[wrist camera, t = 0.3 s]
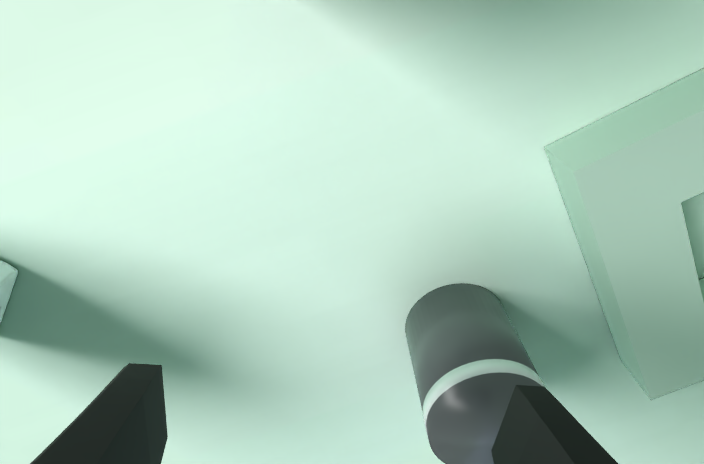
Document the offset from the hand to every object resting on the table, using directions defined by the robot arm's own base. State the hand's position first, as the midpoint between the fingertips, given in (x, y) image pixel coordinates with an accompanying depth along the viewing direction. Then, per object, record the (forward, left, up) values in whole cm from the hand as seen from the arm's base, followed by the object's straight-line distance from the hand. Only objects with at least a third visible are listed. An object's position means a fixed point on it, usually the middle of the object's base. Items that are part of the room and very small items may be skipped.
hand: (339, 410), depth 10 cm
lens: (-8, -2, -10) cm, 12 cm away
